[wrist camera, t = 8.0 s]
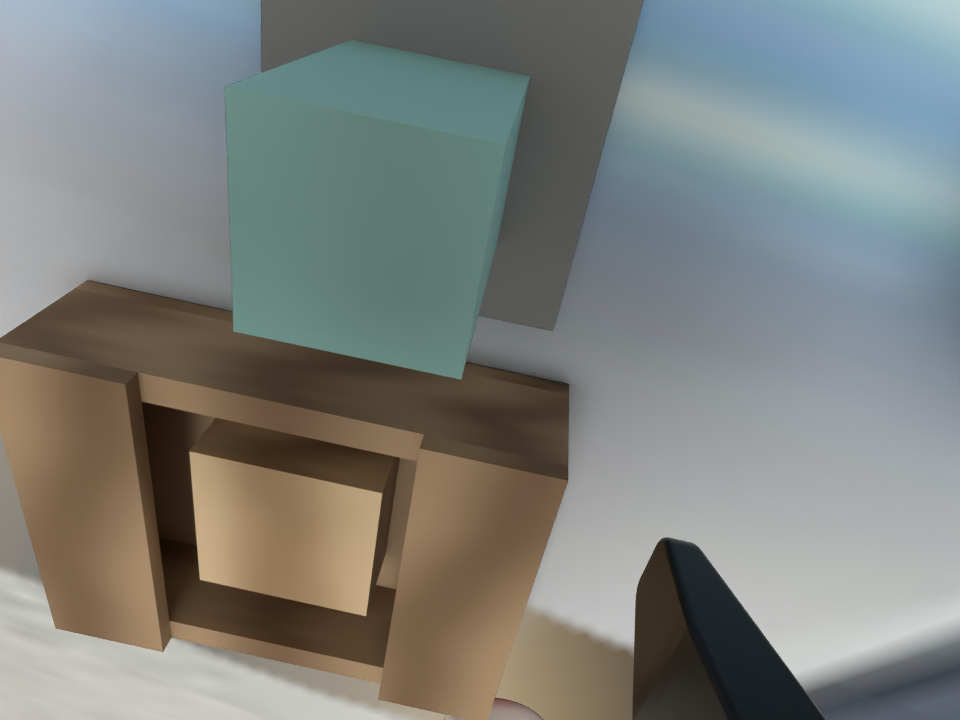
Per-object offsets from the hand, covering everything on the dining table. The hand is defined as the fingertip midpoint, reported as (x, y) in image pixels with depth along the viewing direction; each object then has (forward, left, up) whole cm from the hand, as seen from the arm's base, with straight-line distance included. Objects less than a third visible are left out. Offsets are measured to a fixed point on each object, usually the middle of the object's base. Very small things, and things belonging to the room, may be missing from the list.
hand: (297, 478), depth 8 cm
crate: (+3, +12, -12) cm, 17 cm away
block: (+1, -1, -12) cm, 12 cm away
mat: (+1, -1, -12) cm, 12 cm away
